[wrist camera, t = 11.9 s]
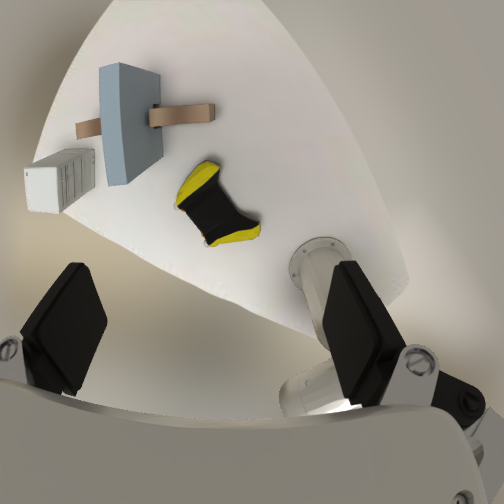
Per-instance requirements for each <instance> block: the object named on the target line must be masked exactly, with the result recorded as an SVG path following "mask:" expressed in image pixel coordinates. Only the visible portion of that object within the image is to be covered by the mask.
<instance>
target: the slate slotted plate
mask: <svg viewBox="0 0 504 504" xmlns="http://www.w3.org/2000/svg"><path fill="white" fill-rule="evenodd" d="M99 97H100V117H101V130H102V141H103V151H104V159H105V167H106V174H107V181H108V186H116V185H125V184H128V183H130V182H131V181H132V180H133V179H135V178H136V177H137V176H138V175H140V174H141V173H142V172H143V171H145V170H146V169H147V168H149V167H150V166H151V165H153V164H154V163H155V162H157V161H158V160H159V159H161V158H162V157H163V143H162V127H160V128H154V127H150V120H149V109H153V105H155V104H161V102H160V75H159V74H156V73H153V72H150V71H147V70H143V69H140V68H137V67H134V66H130V65H127V64H123V63H120V62H119V63H115V64H111V65H107V66H104V67H100V68H99Z"/></svg>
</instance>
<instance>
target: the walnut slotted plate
mask: <svg viewBox="0 0 504 504" xmlns="http://www.w3.org/2000/svg"><path fill="white" fill-rule="evenodd" d="M149 120H150V127H156V126H165V125H176V124H189V123H207V122H211V121H213V120H215V105H214V104H199V105H185V106H174V107H164V108H156V109H149ZM76 135H77V140H78V139H82V138H87V137H92V136H97V135H102V130H101V118H97V119H93V120H88V121H84V122H80V123H76Z"/></svg>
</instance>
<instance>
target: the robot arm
mask: <svg viewBox="0 0 504 504" xmlns="http://www.w3.org/2000/svg"><path fill="white" fill-rule="evenodd" d="M304 249H305V250H304ZM289 271H290V276H291V279H292V281H293V283H294V284H295V285H296V286H297V287H298V288H299V289H301V290H303V292H304V295H305V298H306V301H307V305H308V308H309V311H310V315H311V318H312V322H313V325H314V328H315V332H316V335H317V338H318V340H319V341H320V343H321V344H322V345H323V346H324V347H325V348H326V349H327V350H329V351H330V352H331V356H332V357H331V358H330V359H328V360H327V361H325V362H323V363H321V364H319V365H317V366H314V367H312V368H311V369H308V370H306V371H304V372H301V373H299V374H297V375H295V376H293V377H291V378H290V379H288V380H287V381H285V383H283V385H282V386H281V388H280V391H279V403H280V407H281V409H282V413H283V416H284V418H272V419H237V420H236V419H233V420H232V419H231V420H230V419H200V418H184V417H173V416H163V415H155V414H147V413H140V412H134V411H128V410H122V409H116V408H112V407H107V406H102V405H97V404H93V403H89V402H84V401H81V400H77V399H73V398H69V397H66V396H63V395H61V394H62V391H63V392H64V393H65V394H68V395H71V396H76V394H77V391H78V390H80V389H81V387H82V384H83V382H84V379H85V376H86V374H87V371H88V369H89V366H90V363H91V361H92V359H93V356H94V354H95V352H96V349H97V346H98V344H99V342H100V340H101V338H102V335H103V333H104V331H105V329H106V326H107V316H106V314H105V311H104V309H103V306H102V304H101V301H100V298H99V296H98V293H97V290H96V288H95V285H94V282H93V280H92V276H91V273H90V270H89V268H88V267H87V266H86V265H85V264H84V263H75V262H74V263H73V262H72V263H70V264H69V265H68V266H67V267H66V268H65V270H64V271H63V272H62V273H61V275H60V276H59V277H58V278H57V280H56V281H55V282H54V284H53V285H52V286H51V288H50V289H49V290H48V292H47V293H46V294H45V296H44V297H43V299H42V300H41V301H40V303H39V304H38V305H37V307H36V308H35V310H34V311H33V313H32V314H31V315H30V317H29V318H28V320H27V321H26V323H25V325H24V326H23V328H22V329H21V331H20V333H21V334H22V336H23V338H24V339H23V340H22V341H21V340H20V339H19V337H17V336H9V337H6V338H5V339H3V340H2V341H1V342H0V504H491V502H492V501H493V499H494V497H495V496H496V494H497V492H498V491H499V489H500V487H501V485H502V483H503V482H504V419H503V418H502V417H501V416H500V415H498V414H497V413H496V412H495V411H494V410H493V409H492V408H491V407H489V408H488V409H486V408H485V404H486V403H485V399H484V396H483V395H482V393H481V392H480V391H479V390H478V389H477V388H475V387H474V386H472V385H469V384H467V383H465V382H463V381H461V380H458V379H457V378H455V377H452V376H450V375H448V374H446V373H444V372H442V371H440V370H439V361H438V358H437V356H436V355H435V353H434V352H432V351H431V350H430V349H429V348H427V347H425V346H422V345H419V344H417V345H416V344H413V345H409V346H406V344H405V342H404V340H403V338H402V336H401V335H400V333H399V331H398V329H397V327H396V325H395V324H394V322H393V320H392V318H391V316H390V315H389V313H388V311H387V310H386V308H385V306H384V304H383V303H382V301H381V299H380V298H379V296H378V295H377V294H376V292H375V291H374V289H373V287H372V286H371V284H370V282H369V281H368V279H367V277H366V276H365V274H364V273H363V271H362V269H361V268H360V266H359V265H358V263H357V262H356V261H351V256H350V253H349V251H348V249H347V248H346V247H345V245H344V244H343V243H341V242H340V241H338V240H336V239H333V238H317V239H314V240H311V241H309V242H307V243H305V244H304V245H302V246H301V247H300V248H299V249H298V250H297V251H296V252H295V254H294V255H293V257H292V259H291V262H290V266H289Z"/></svg>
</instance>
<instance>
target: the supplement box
mask: <svg viewBox="0 0 504 504" xmlns="http://www.w3.org/2000/svg"><path fill="white" fill-rule="evenodd" d="M24 179H25V189H26V197H27V205H28V210H29V211H34V212H45V213H56V214H60V213H61V212H62V211H63V210H65V209H66V208H67V207H68V206H70V205H71V204H72V203H74V202H75V201H76V200H78V199H79V198H80V197H82V196H83V195H84V194H86V193H87V192H88V191H90V190H91V189H92V188H94V187H95V186H94V185H95V179H94V149H65V150H62V151H60V152H57V153H55V154H53V155H50V156H48V157H46V158H44V159H41V160H39V161H37V162H35V163H33V164H30V165H28V166H26V167H24Z"/></svg>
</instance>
